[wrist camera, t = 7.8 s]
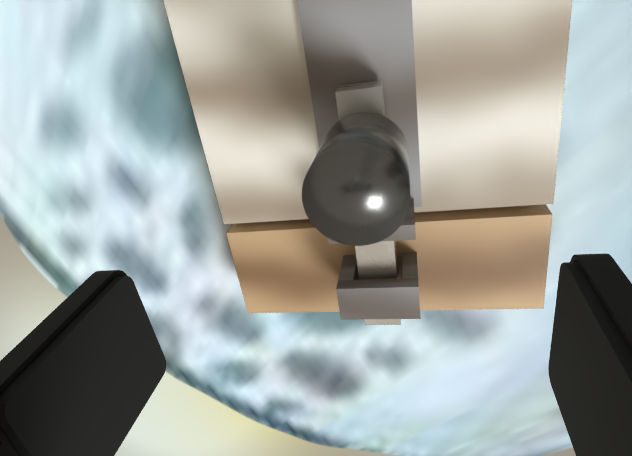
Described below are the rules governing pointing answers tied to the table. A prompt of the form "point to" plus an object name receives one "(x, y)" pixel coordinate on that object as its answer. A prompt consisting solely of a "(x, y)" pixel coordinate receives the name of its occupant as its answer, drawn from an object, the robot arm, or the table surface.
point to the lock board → (414, 121)
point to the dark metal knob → (361, 182)
